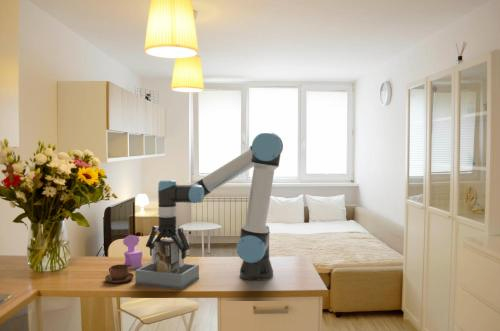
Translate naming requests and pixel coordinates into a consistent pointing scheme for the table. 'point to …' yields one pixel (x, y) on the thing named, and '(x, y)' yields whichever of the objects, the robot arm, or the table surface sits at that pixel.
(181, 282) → the walled bin
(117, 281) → the cup and saucer
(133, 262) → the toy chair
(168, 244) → the coffee box
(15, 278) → the table surface
